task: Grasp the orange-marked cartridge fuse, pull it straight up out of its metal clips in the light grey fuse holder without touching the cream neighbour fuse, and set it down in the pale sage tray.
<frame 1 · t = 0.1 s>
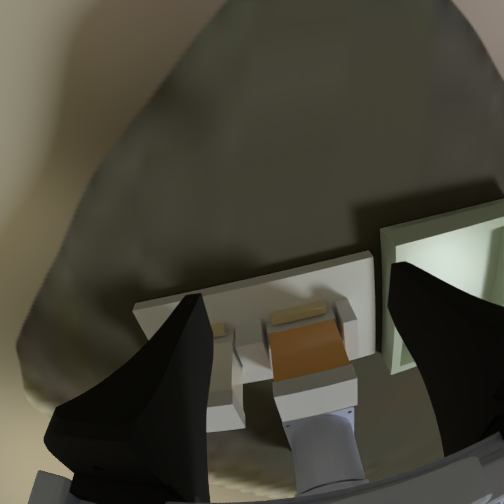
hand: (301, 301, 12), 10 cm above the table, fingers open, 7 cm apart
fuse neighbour: (208, 348, 25), point 1 cm above the table, touching fuse block
fuse block: (262, 330, 25), on the table
tray: (447, 280, 24), on the table
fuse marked: (301, 330, 24), point 1 cm above the table, touching fuse block
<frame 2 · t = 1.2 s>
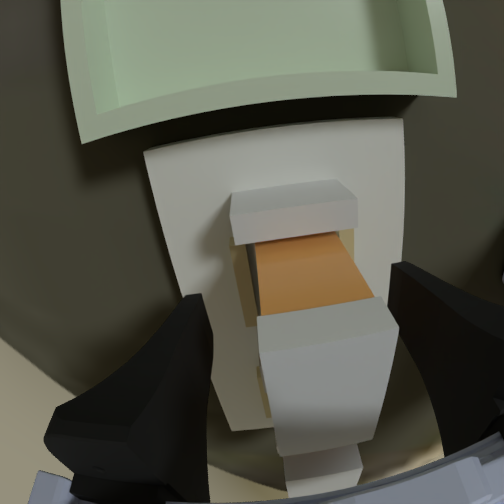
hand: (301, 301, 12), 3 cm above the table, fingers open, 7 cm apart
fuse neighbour: (303, 383, 17), point 1 cm above the table, touching fuse block
fuse block: (296, 312, 16), on the table
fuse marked: (294, 271, 14), point 1 cm above the table, touching fuse block
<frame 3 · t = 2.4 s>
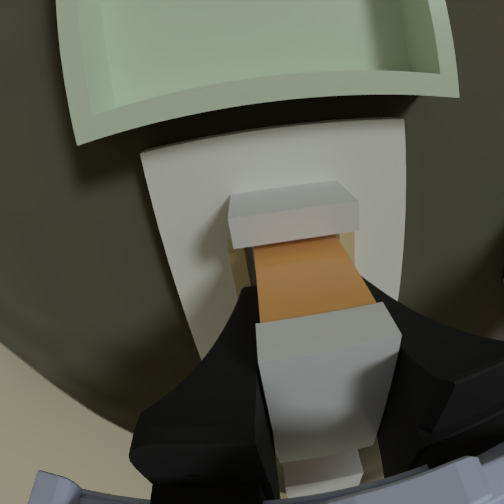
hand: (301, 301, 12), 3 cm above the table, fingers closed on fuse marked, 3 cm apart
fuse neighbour: (302, 386, 17), point 1 cm above the table, touching fuse block
fuse block: (295, 315, 16), on the table
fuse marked: (293, 274, 13), point 1 cm above the table, touching fuse block, gripper
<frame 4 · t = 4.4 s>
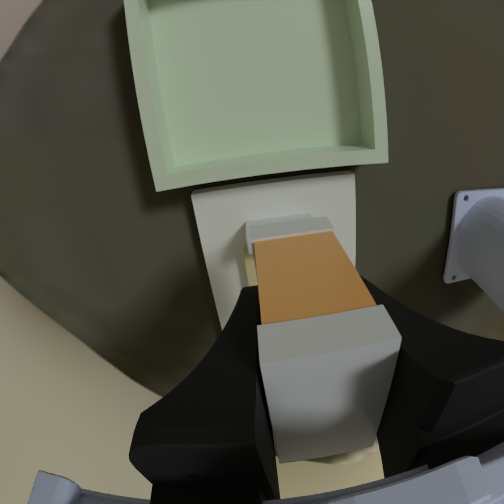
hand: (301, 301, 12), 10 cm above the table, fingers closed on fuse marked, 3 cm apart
fuse block: (285, 297, 24), on the table
tray: (256, 59, 16), on the table
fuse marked: (294, 276, 13), point 8 cm above the table, touching gripper
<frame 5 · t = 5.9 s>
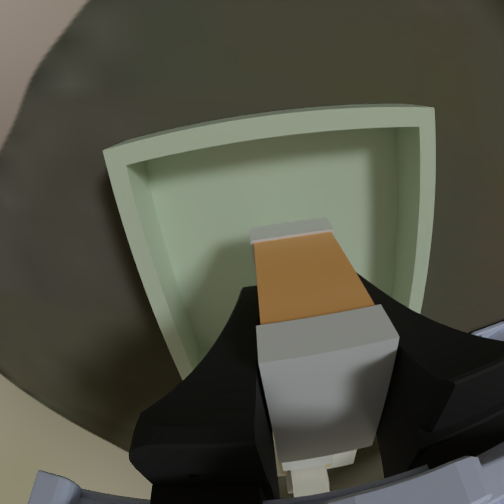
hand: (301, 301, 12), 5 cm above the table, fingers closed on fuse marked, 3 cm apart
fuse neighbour: (304, 456, 24), point 1 cm above the table, touching fuse block
fuse block: (302, 424, 23), on the table
tray: (286, 245, 16), on the table
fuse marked: (293, 277, 13), point 3 cm above the table, touching gripper
when the fingers open (4 cm above the table, at t = 6.7 s): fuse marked drops 2 cm, resting on tray.
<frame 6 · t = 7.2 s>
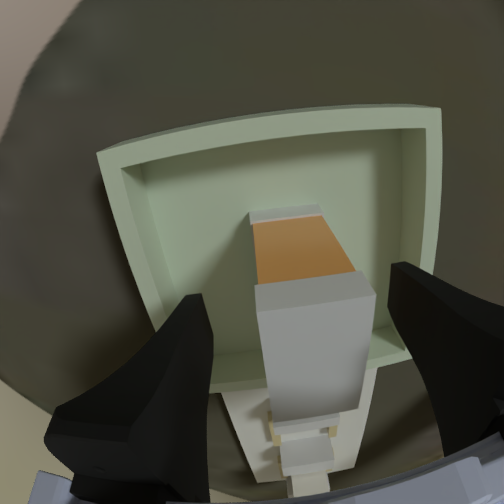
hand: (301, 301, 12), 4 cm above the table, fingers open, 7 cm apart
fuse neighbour: (305, 460, 24), point 1 cm above the table, touching fuse block
fuse block: (302, 429, 23), on the table
tray: (286, 249, 15), on the table
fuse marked: (288, 257, 15), point 1 cm above the table, touching tray
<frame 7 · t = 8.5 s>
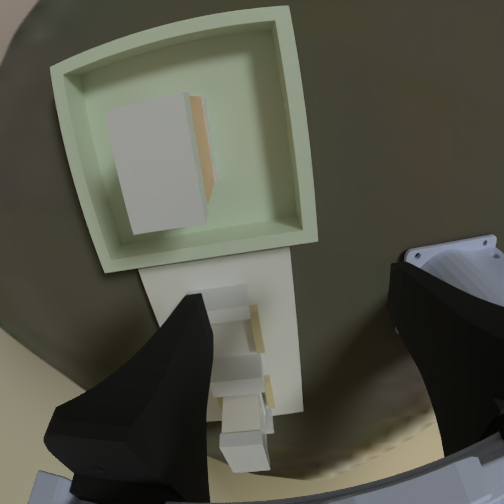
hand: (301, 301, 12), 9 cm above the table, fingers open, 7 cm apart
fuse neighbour: (245, 391, 26), point 1 cm above the table, touching fuse block
fuse block: (235, 349, 25), on the table
tray: (187, 138, 18), on the table
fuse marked: (185, 141, 17), point 1 cm above the table, touching tray
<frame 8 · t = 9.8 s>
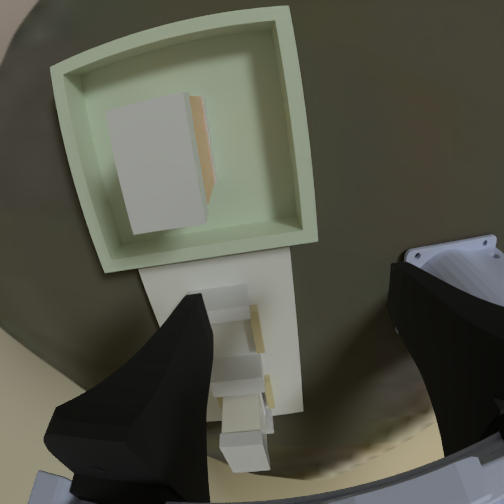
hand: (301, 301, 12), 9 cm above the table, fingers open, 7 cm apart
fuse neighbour: (245, 391, 26), point 1 cm above the table, touching fuse block
fuse block: (235, 349, 25), on the table
tray: (187, 138, 18), on the table
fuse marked: (185, 141, 17), point 1 cm above the table, touching tray
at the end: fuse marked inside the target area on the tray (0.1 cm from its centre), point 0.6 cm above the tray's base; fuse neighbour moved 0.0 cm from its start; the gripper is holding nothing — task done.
